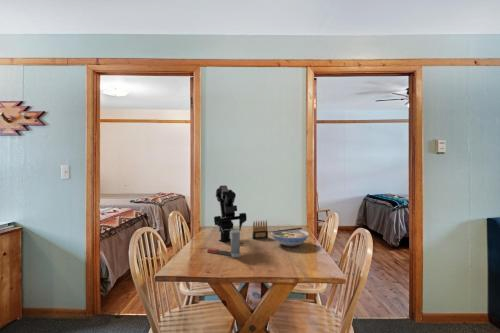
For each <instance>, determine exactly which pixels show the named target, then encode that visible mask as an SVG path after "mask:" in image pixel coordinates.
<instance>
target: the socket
mask: <svg viewBox="0 0 500 333" xmlns="http://www.w3.org/2000/svg"><path fill="white" fill-rule="evenodd" d="M240 236H241V231H240V230H239V228H233V229H231V231H230V239H231V240H230V251H231V252H232V254H234V253H240V254H241V251H240V250H241V247H240V246H241V242H240V241H241V240H240V239H241V237H240Z"/></svg>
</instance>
